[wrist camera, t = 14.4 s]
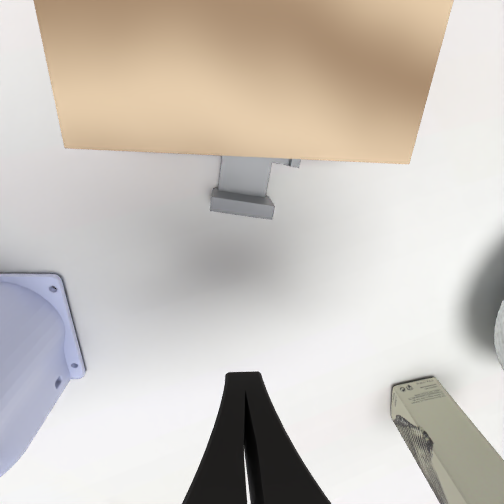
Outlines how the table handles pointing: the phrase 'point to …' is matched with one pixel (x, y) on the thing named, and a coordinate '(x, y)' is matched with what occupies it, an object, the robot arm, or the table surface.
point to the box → (447, 445)
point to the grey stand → (246, 186)
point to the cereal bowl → (500, 335)
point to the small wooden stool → (244, 75)
